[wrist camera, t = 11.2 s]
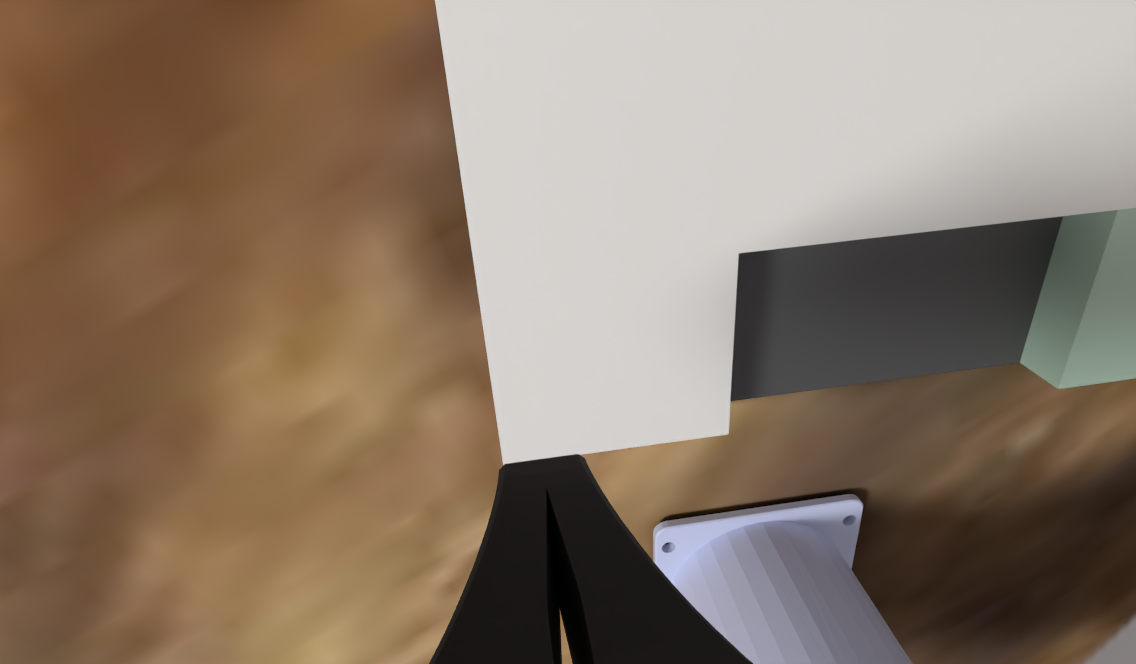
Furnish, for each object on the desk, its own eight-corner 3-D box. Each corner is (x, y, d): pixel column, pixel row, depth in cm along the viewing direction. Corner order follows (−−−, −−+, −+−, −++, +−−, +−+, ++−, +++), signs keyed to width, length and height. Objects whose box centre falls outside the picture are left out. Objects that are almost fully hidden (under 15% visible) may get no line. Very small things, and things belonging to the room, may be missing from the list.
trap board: (1221, 330, 24) (1280, 358, 22) (500, 426, 22) (503, 464, 20) (1588, -480, 14) (1744, -546, 13) (374, -450, 12) (357, -524, 10)
